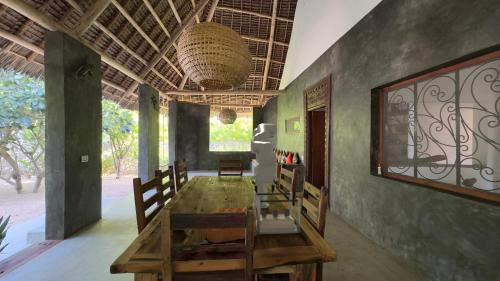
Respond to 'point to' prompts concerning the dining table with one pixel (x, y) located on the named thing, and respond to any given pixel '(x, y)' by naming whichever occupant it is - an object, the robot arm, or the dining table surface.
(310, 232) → the dining table surface
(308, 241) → the dining table surface
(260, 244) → the dining table surface
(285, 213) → the grey matte cuboid
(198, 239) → the lantern
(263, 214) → the grey rectangular block
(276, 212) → the dark grey rectangular box
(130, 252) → the dining table surface
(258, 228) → the frame
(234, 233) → the bread
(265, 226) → the switch box
